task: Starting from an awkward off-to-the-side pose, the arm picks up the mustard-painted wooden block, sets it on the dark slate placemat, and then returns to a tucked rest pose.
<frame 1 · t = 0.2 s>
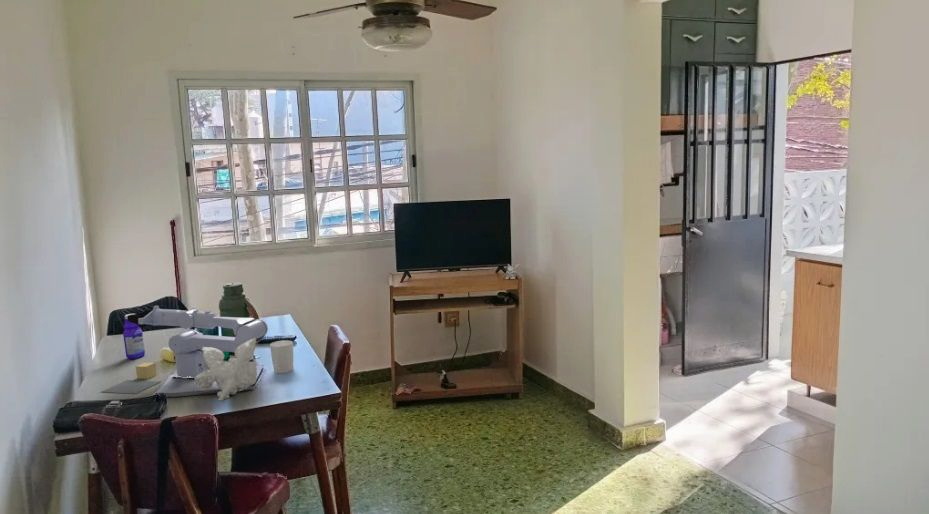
hand: (136, 315, 237), 21 cm above the table, tool horizontal, fingers open, 7 cm apart
white cup: (283, 371, 235), on the table
placemat: (131, 387, 225), on the table
white lumpy sculpture: (230, 391, 216), on the table
block: (146, 376, 236), on the table
bottle: (135, 357, 262), on the table
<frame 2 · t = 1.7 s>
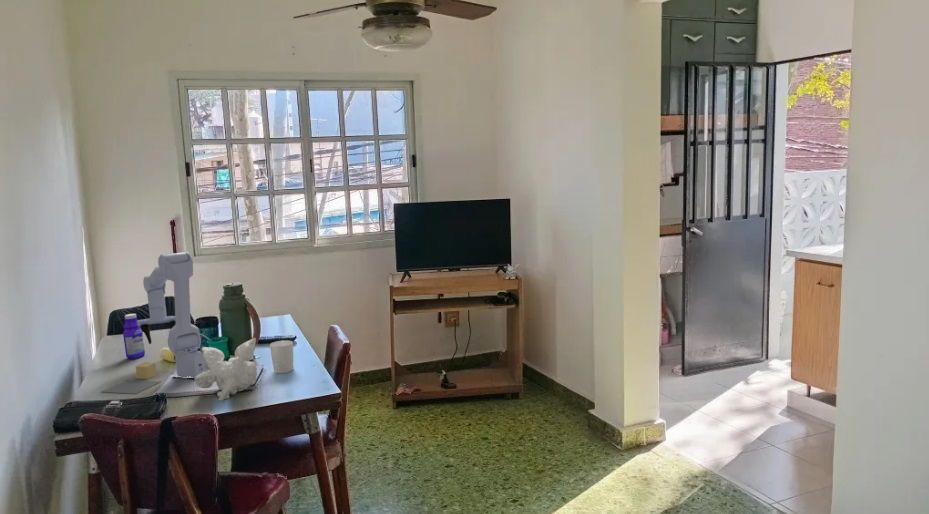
hand: (161, 341, 251), 8 cm above the table, tool pointing down, fingers open, 7 cm apart
nothing on the table moved.
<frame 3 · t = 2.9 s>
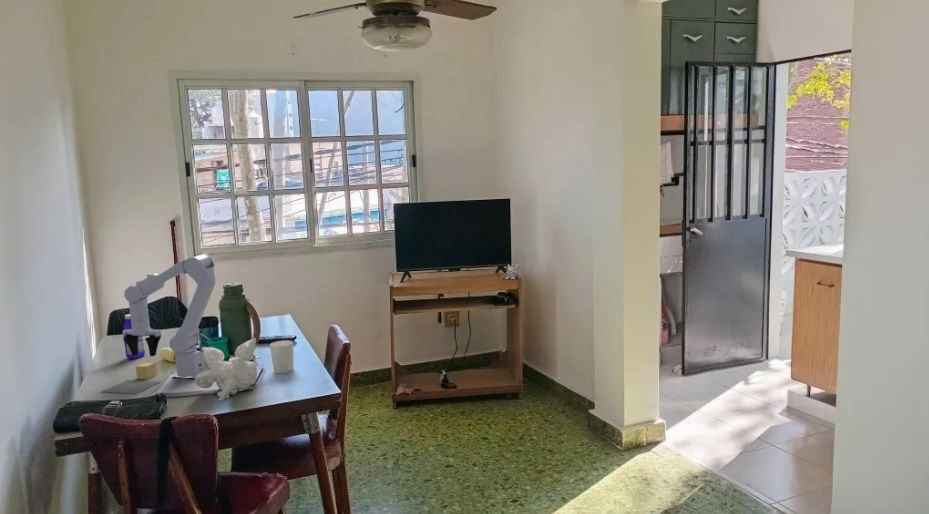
hand: (144, 355, 235), 8 cm above the table, tool pointing down, fingers open, 7 cm apart
nothing on the table moved.
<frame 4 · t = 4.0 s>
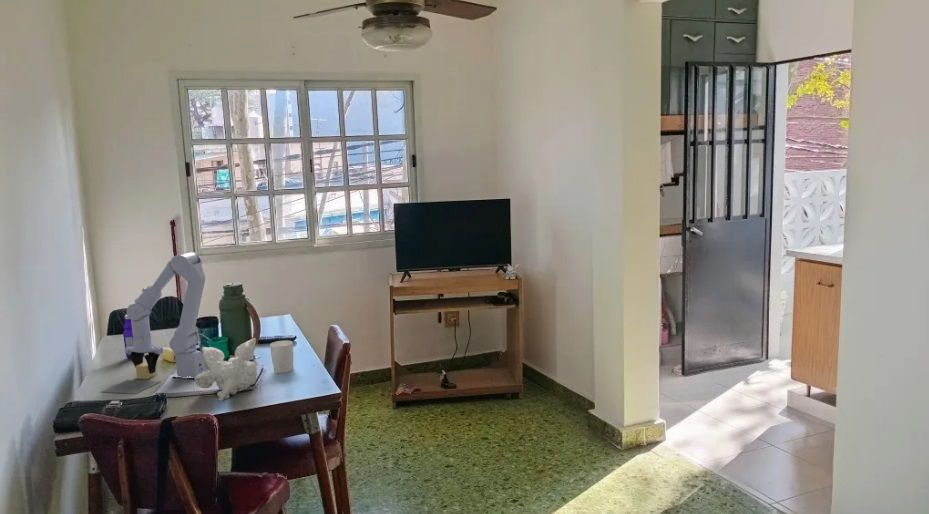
hand: (146, 372, 236), 1 cm above the table, tool pointing down, fingers closed on block, 4 cm apart
block: (146, 376, 236), on the table, touching gripper
everything else where it was.
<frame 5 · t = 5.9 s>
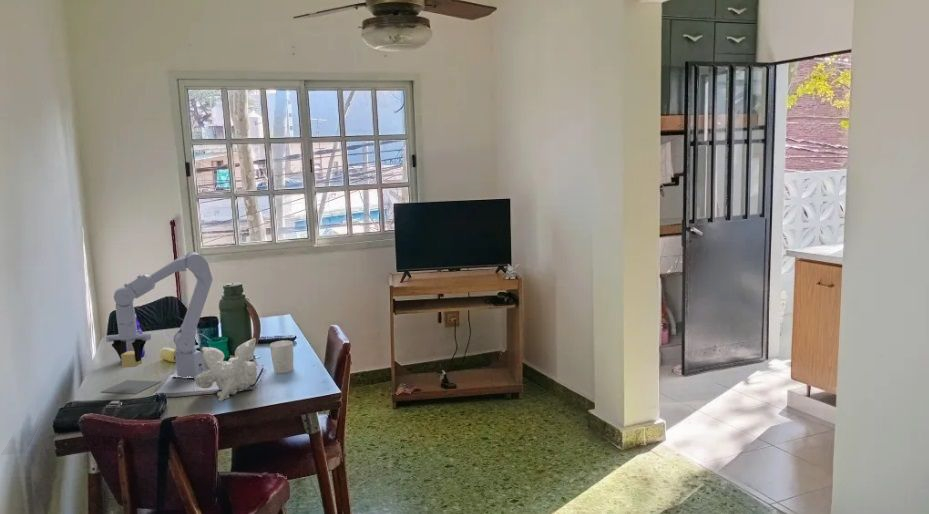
hand: (131, 361, 226), 8 cm above the table, tool pointing down, fingers closed on block, 4 cm apart
block: (132, 365, 226), point 7 cm above the table, touching gripper
everything else where it was.
when the fingers open (3 cm above the table, at t = 7.6 s): block drops 1 cm, resting on placemat.
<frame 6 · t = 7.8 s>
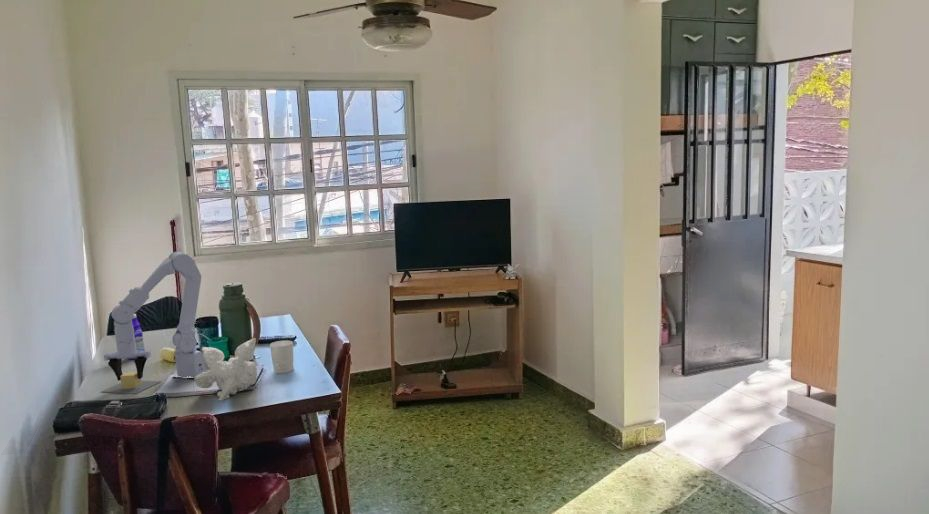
hand: (130, 378, 224), 3 cm above the table, tool pointing down, fingers open, 6 cm apart
block: (131, 386, 225), resting on placemat
everything else where it was.
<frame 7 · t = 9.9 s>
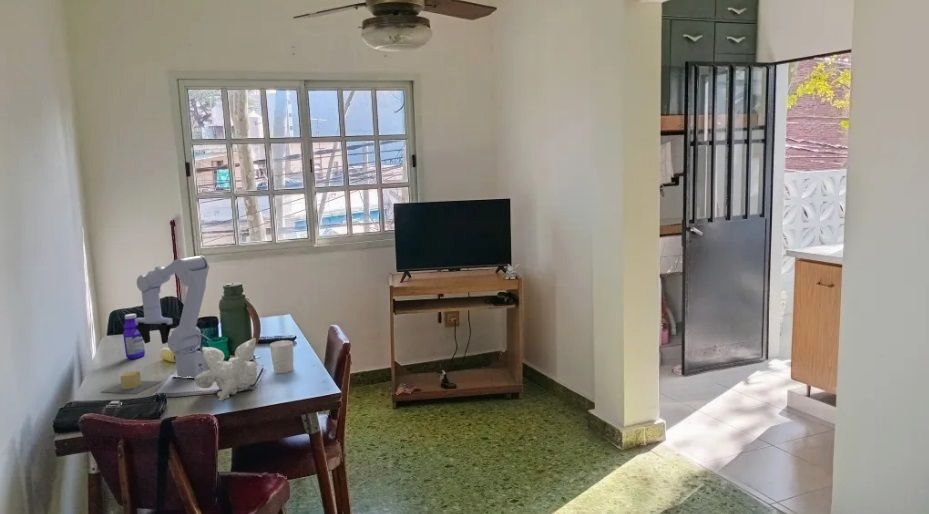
hand: (156, 342, 242), 10 cm above the table, tool pointing down, fingers open, 7 cm apart
nothing on the table moved.
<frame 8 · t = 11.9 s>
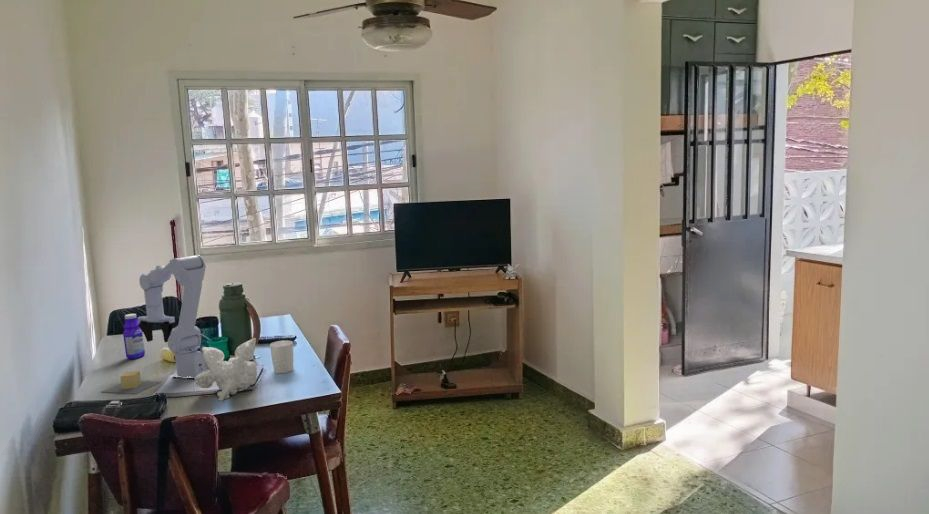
hand: (158, 341, 243), 10 cm above the table, tool pointing down, fingers open, 7 cm apart
nothing on the table moved.
at the end: block inside the target area on the placemat (0.2 cm from its centre), point 0.2 cm above the placemat's base; block tilted 0°; the gripper is holding nothing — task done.
